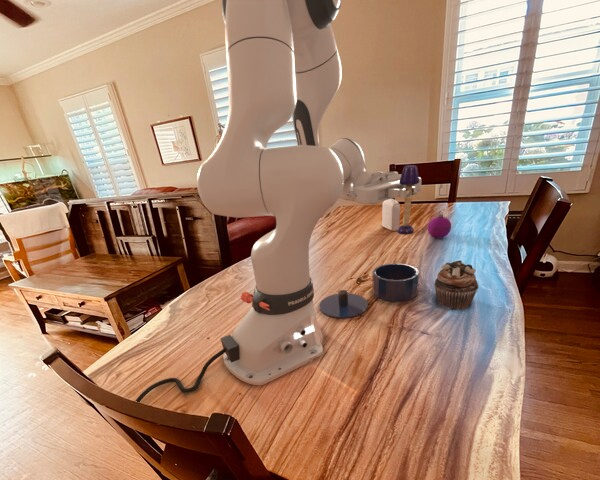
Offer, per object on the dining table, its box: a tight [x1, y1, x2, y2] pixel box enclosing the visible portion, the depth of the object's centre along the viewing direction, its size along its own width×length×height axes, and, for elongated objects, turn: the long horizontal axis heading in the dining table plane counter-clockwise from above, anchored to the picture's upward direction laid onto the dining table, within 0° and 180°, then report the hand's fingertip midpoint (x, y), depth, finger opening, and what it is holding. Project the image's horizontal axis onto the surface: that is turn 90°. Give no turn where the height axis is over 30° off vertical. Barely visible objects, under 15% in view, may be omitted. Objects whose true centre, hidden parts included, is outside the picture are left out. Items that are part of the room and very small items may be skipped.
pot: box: [371, 262, 420, 303], centre depth 83 cm, size 11×11×6 cm
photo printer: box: [381, 198, 401, 232], centre depth 135 cm, size 10×4×12 cm, turn 13°
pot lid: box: [318, 289, 369, 320], centre depth 79 cm, size 12×12×5 cm
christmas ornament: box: [427, 211, 452, 239], centre depth 118 cm, size 8×8×10 cm
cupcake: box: [434, 260, 480, 311], centre depth 75 cm, size 10×10×10 cm
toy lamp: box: [397, 164, 420, 236], centre depth 80 cm, size 5×5×17 cm
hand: (411, 192), depth 78 cm, fingers closed on toy lamp
